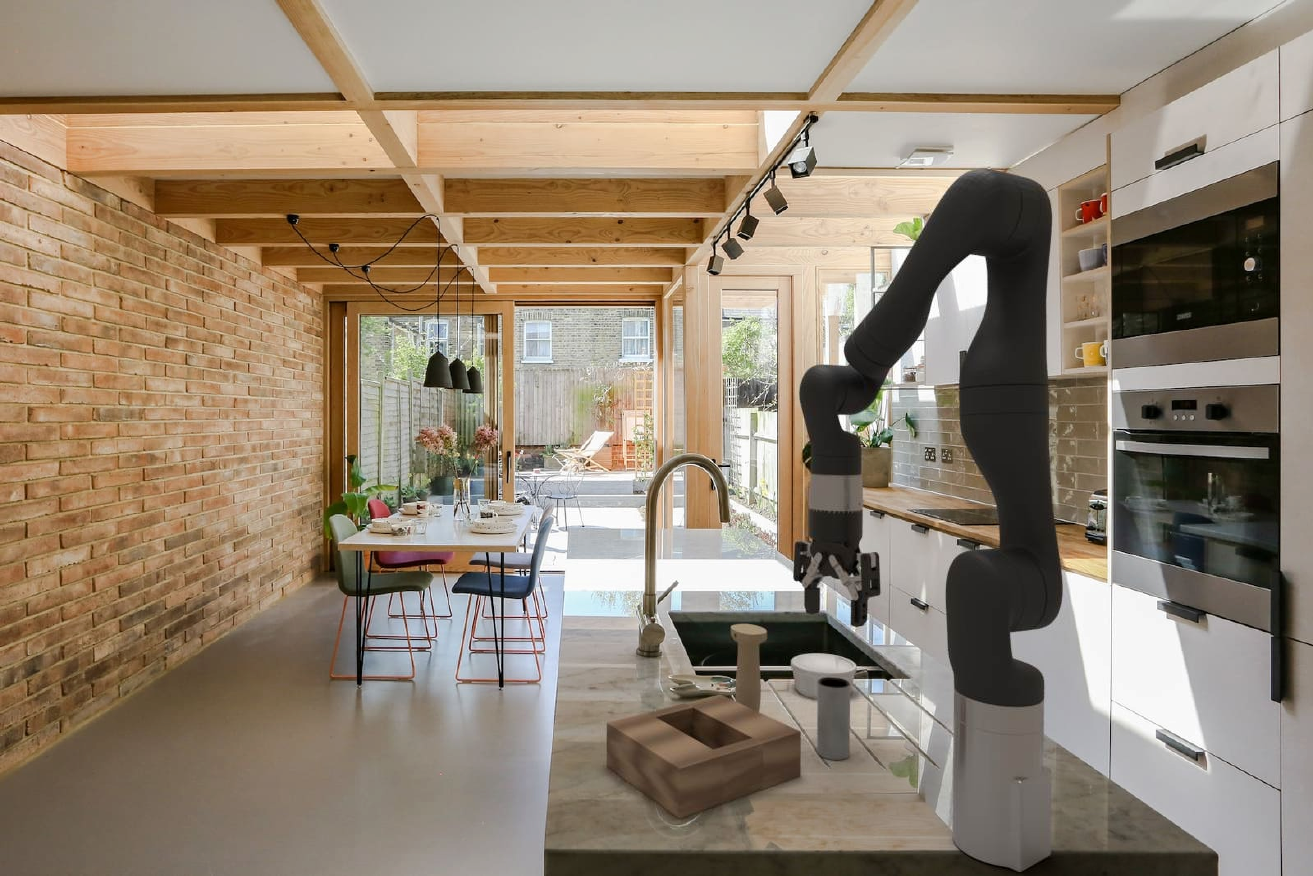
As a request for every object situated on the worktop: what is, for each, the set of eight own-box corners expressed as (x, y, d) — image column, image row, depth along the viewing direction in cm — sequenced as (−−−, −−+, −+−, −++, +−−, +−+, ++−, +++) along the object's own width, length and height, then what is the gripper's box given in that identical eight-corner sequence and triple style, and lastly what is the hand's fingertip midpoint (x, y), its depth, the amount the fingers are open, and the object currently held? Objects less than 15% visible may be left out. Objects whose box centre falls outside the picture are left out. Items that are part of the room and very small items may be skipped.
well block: (800, 776, 103) (800, 731, 103) (679, 818, 92) (679, 768, 92) (720, 733, 117) (720, 694, 117) (606, 766, 106) (606, 722, 106)
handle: (745, 734, 117) (746, 636, 117) (724, 719, 123) (724, 625, 123) (772, 729, 119) (773, 632, 119) (749, 714, 125) (750, 622, 125)
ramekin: (869, 698, 133) (869, 668, 133) (813, 707, 129) (814, 675, 129) (831, 678, 144) (831, 650, 143) (779, 685, 139) (779, 656, 139)
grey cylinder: (826, 744, 114) (826, 674, 113) (855, 752, 111) (855, 681, 111) (811, 754, 110) (812, 682, 110) (840, 763, 107) (841, 689, 107)
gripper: (893, 509, 106) (892, 626, 106) (817, 500, 118) (816, 606, 118) (856, 512, 102) (855, 635, 102) (781, 502, 114) (780, 612, 114)
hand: (834, 619), depth 110 cm, fingers open, 8 cm apart
